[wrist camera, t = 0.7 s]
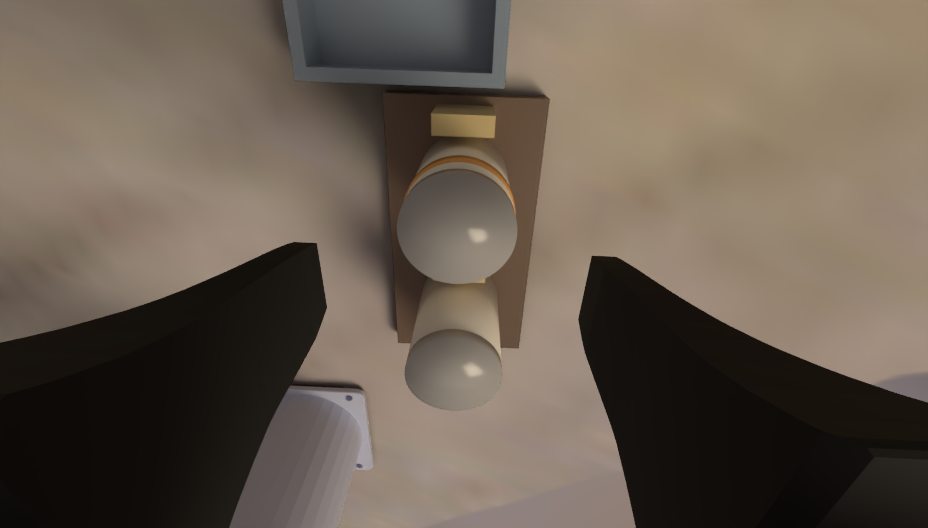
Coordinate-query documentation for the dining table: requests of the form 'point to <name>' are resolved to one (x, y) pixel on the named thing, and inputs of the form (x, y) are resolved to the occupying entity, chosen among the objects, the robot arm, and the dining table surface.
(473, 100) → the fuse holder
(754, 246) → the dining table surface
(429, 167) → the cylinder
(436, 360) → the cylinder
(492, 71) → the tray
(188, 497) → the robot arm
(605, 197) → the dining table surface
